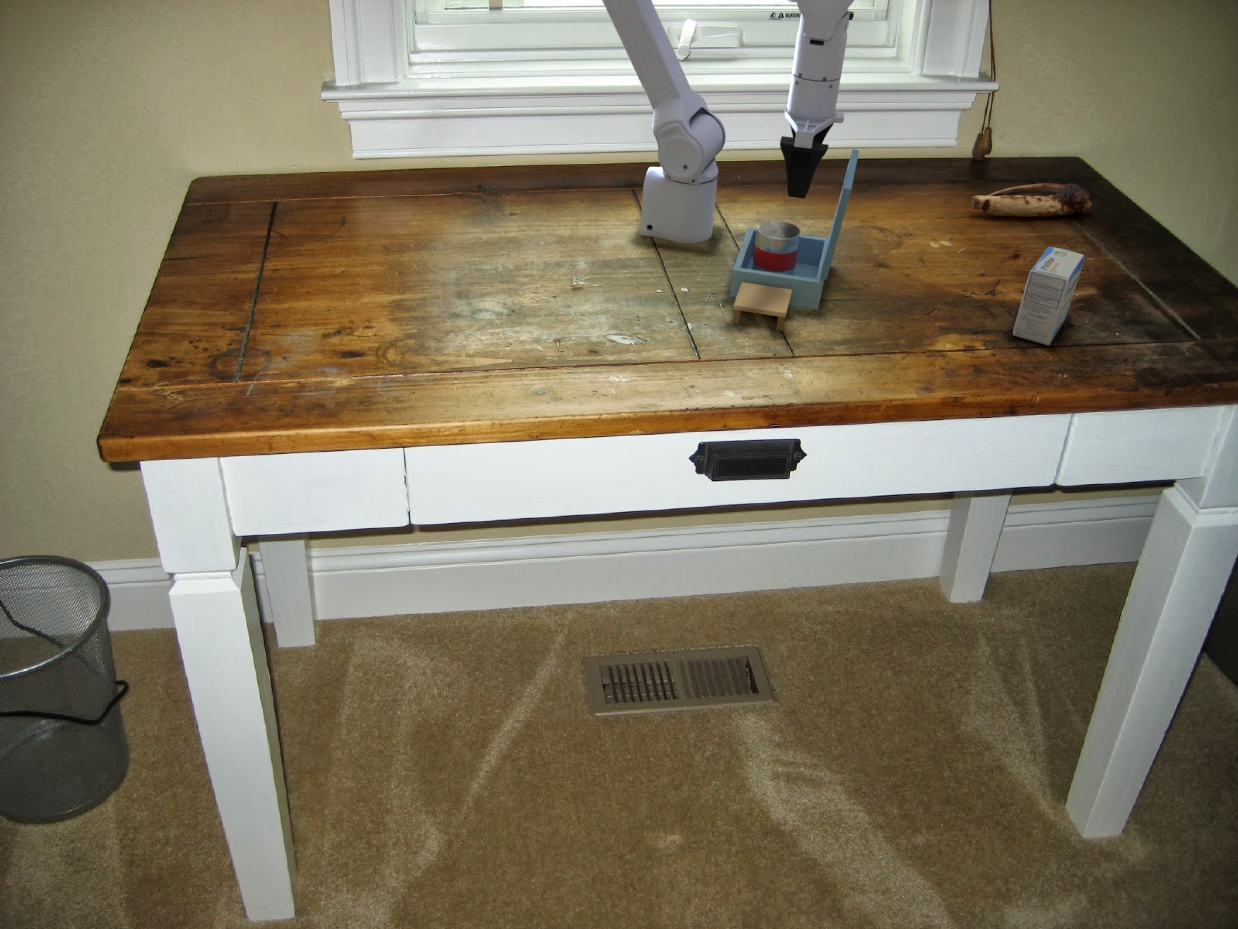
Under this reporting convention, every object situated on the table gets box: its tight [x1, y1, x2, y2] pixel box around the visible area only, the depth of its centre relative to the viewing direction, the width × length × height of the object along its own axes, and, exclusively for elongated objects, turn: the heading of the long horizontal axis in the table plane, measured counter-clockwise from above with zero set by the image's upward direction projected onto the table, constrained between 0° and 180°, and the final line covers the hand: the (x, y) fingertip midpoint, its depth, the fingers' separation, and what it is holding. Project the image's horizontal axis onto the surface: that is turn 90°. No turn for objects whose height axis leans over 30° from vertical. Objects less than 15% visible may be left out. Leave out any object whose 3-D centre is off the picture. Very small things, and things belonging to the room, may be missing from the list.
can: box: [752, 220, 801, 276], centre depth 131 cm, size 5×5×6 cm
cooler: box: [729, 226, 829, 311], centre depth 132 cm, size 11×13×4 cm
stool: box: [732, 282, 792, 332], centre depth 125 cm, size 6×6×3 cm
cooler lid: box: [820, 148, 860, 281], centre depth 126 cm, size 11×13×1 cm
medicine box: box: [1012, 246, 1086, 347], centre depth 125 cm, size 8×4×9 cm, turn 148°
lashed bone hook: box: [971, 182, 1093, 218], centre depth 154 cm, size 9×5×18 cm
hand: (799, 184), depth 134 cm, fingers open, 7 cm apart
